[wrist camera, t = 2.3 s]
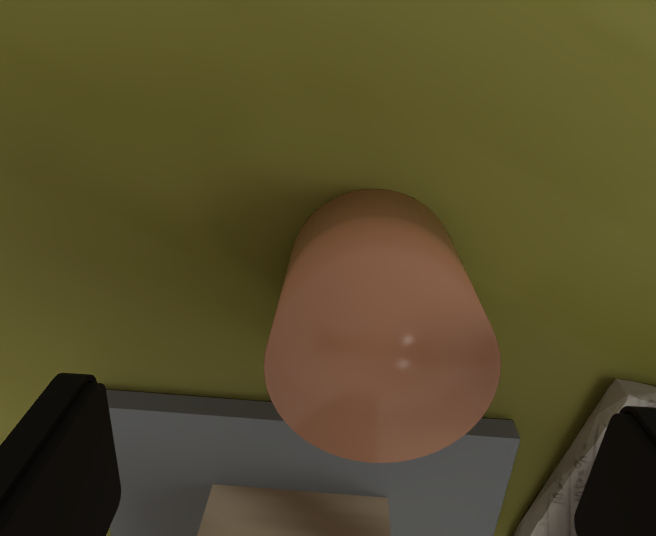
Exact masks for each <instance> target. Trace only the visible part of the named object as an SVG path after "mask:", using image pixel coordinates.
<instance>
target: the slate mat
mask: <svg viewBox="0 0 656 536" xmlns="http://www.w3.org/2000/svg"><path fill="white" fill-rule="evenodd" d="M106 393H107V400H108V406H109V412H110V419H111V425H112V432H113V438H114V444H115V451H116V457H117V464H118V470H119V476H120V483H121V499H120V503H119V507H118V509H117V512H116V514H115V516H114V518H113V521H112V523H111V525H110V530H111V536H197V534H198V531H199V528H200V524H201V521H202V518H203V515H204V511H205V508H206V505H207V501H208V498H209V495H210V492H211V488H212V485H213V484H218V485H230V486H243V487H256V488H269V489H282V490H295V491H307V492H320V493H333V494H346V495H359V496H371V497H384V498H388V504H389V518H390V531H391V536H493V535H494V532H495V528H496V525H497V521H498V518H499V514H500V510H501V507H502V503H503V500H504V496H505V493H506V489H507V486H508V482H509V478H510V475H511V471H512V468H513V464H514V461H515V457H516V454H517V450H518V446H519V443H520V436H519V434H518V431H517V429H516V426H515V424H514V422H513V420H502V419H489V418H481V419H480V420H479V421H478V422H477V423H476V425H475V426H474V427H473V428H472V429H471V430H470V431H468V432H467V433H466V434H465V435H464V436H463V437H461V438H460V439H458V440H457V441H455V442H454V443H452V444H451V445H449V446H447V447H445V448H443V449H441V450H439V451H437V452H434V453H432V454H429V455H427V456H423V457H420V458H416V459H413V460H407V461H401V462H391V463H369V462H361V461H354V460H350V459H346V458H342V457H339V456H336V455H333V454H330V453H328V452H326V451H323V450H321V449H319V448H317V447H315V446H314V445H312V444H310V443H309V442H307V441H306V440H304V439H303V438H302V437H300V436H299V435H298V434H297V433H295V432H294V431H293V430H292V429H291V428H290V427H289V426H288V425H287V424H286V423H285V421H284V420H283V419H282V417H281V416H280V415H279V413H278V412H277V410H276V408H275V406H274V405H273V403H272V402H264V401H250V400H237V399H224V398H211V397H197V396H184V395H171V394H158V393H145V392H131V391H118V390H106Z"/></svg>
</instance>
